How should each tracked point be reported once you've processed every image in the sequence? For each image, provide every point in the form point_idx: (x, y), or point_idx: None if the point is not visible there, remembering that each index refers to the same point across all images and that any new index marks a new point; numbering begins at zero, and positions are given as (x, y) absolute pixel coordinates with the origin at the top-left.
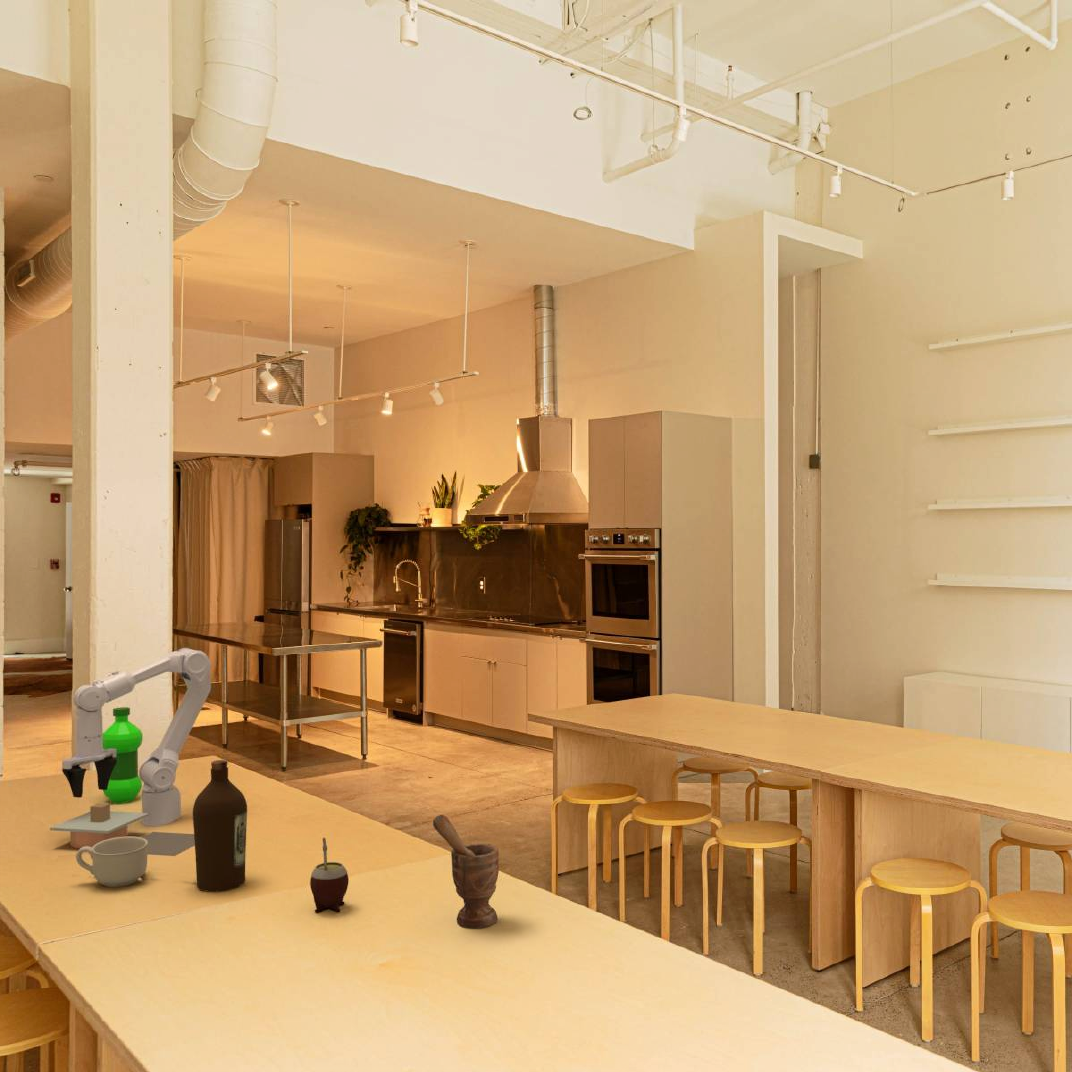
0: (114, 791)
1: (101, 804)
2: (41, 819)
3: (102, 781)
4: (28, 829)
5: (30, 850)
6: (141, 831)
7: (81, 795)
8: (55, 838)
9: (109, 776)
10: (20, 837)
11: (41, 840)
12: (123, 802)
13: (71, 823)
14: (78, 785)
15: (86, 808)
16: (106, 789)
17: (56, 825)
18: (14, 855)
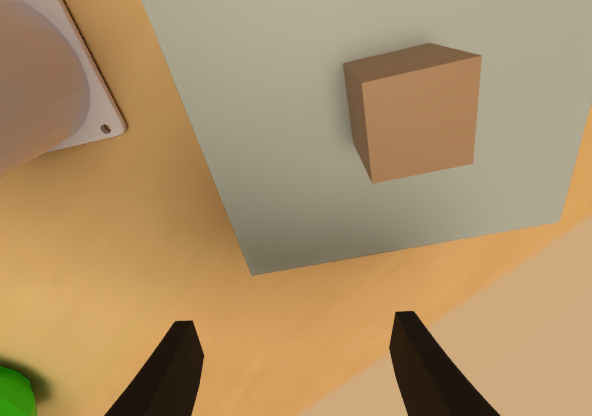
0: (10, 410)
1: (397, 135)
2: (234, 401)
3: (179, 392)
4: (307, 372)
5: (477, 243)
6: (130, 64)
7: (406, 319)
8: (348, 273)
9: (122, 408)
10: (370, 344)
11: (377, 289)
12: (8, 369)
13: (477, 192)
14: (477, 395)
15: (111, 393)
16: (179, 322)
17: (519, 225)
18: (533, 243)
